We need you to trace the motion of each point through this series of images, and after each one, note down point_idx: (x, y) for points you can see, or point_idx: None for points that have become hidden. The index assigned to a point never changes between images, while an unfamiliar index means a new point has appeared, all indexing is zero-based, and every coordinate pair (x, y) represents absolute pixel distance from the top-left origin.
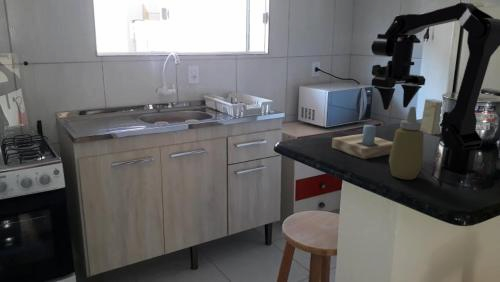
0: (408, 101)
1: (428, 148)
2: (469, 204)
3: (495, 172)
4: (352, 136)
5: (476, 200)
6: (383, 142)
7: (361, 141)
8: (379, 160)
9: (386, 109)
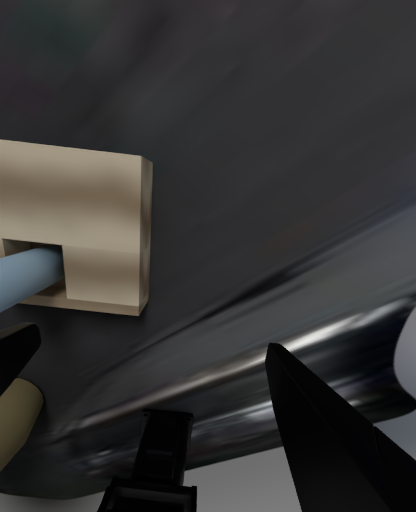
0: (282, 433)
1: (277, 322)
2: (28, 487)
3: (214, 463)
4: (53, 163)
5: (51, 487)
6: (104, 285)
7: (36, 236)
8: (51, 313)
9: (29, 344)
